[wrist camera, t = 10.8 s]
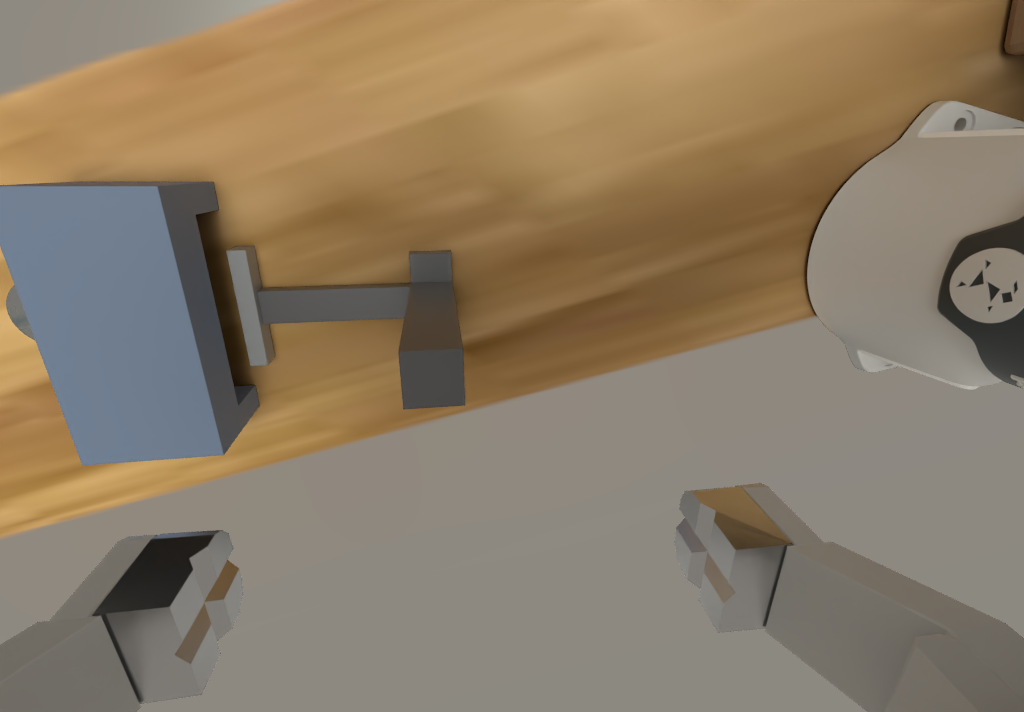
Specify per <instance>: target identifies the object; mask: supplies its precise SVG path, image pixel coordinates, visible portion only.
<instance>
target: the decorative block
mask: <svg viewBox="0 0 1024 712" xmlns="http://www.w3.org/2000/svg"><path fill="white" fill-rule="evenodd" d="M1004 47H1005V51H1006V53H1010V54H1014V55H1022V54H1024V0H1013V1H1012V7H1011V12H1010V18H1009V23H1008V29H1007V34H1006V40H1005V45H1004Z"/></svg>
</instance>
